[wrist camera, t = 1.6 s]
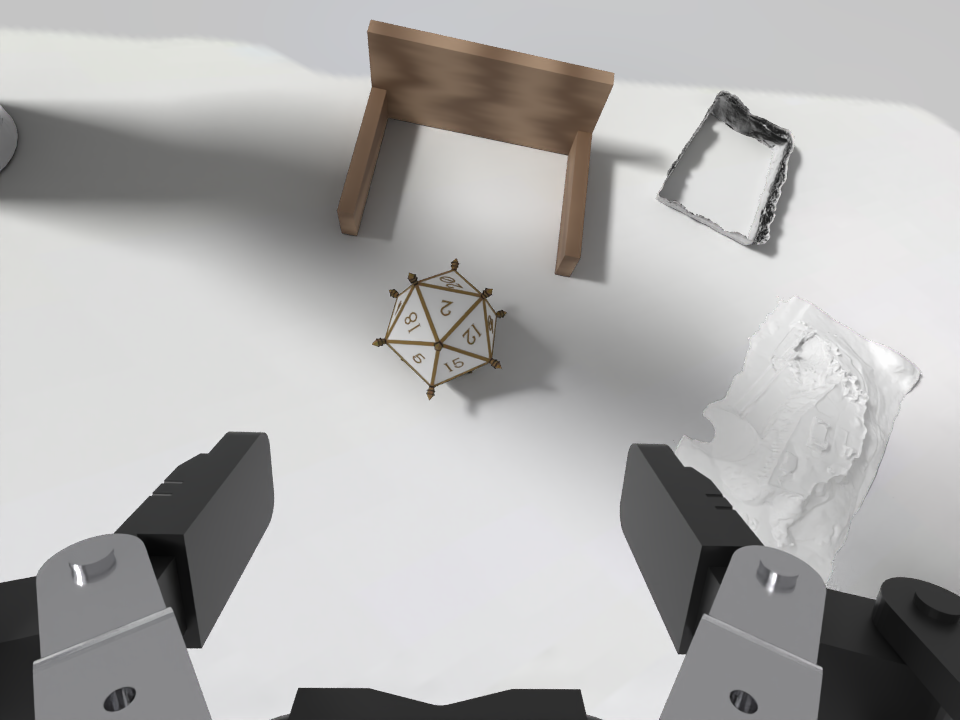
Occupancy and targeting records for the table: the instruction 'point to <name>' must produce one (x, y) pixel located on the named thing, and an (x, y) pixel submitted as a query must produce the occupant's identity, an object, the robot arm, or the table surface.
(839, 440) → the terrain model
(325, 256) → the table surface
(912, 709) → the robot arm
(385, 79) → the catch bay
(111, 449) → the table surface
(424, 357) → the game die
